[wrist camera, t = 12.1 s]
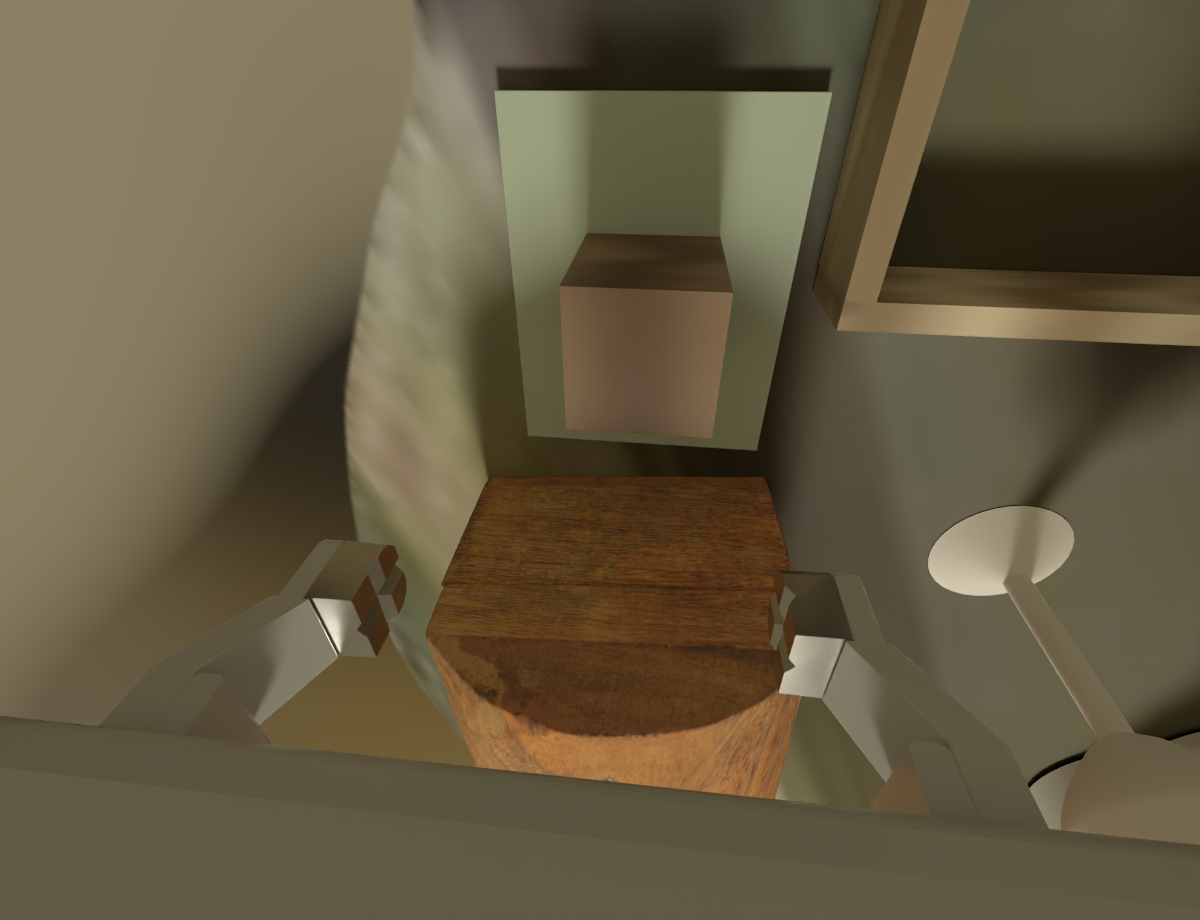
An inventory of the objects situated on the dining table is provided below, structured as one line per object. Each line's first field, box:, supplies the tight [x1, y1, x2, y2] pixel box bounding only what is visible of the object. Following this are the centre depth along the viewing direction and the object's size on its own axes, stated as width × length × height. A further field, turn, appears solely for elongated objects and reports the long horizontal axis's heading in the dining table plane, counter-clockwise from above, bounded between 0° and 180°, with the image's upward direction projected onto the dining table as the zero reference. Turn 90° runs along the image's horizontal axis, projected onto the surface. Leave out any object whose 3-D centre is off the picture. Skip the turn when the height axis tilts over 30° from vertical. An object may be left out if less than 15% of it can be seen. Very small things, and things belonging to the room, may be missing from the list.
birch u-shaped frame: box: [813, 0, 1200, 346], centre depth 15 cm, size 15×14×4 cm
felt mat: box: [495, 90, 832, 451], centre depth 22 cm, size 11×14×1 cm
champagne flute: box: [928, 506, 1200, 845], centre depth 19 cm, size 7×7×24 cm
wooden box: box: [426, 476, 801, 799], centre depth 32 cm, size 30×16×14 cm, turn 4°
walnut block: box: [559, 233, 733, 438], centre depth 19 cm, size 5×5×6 cm
